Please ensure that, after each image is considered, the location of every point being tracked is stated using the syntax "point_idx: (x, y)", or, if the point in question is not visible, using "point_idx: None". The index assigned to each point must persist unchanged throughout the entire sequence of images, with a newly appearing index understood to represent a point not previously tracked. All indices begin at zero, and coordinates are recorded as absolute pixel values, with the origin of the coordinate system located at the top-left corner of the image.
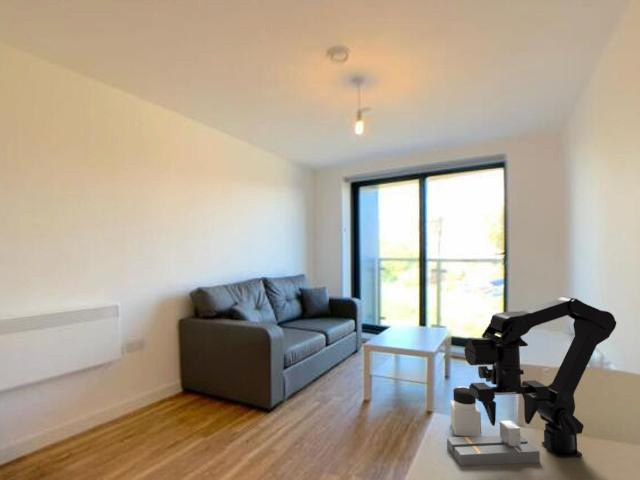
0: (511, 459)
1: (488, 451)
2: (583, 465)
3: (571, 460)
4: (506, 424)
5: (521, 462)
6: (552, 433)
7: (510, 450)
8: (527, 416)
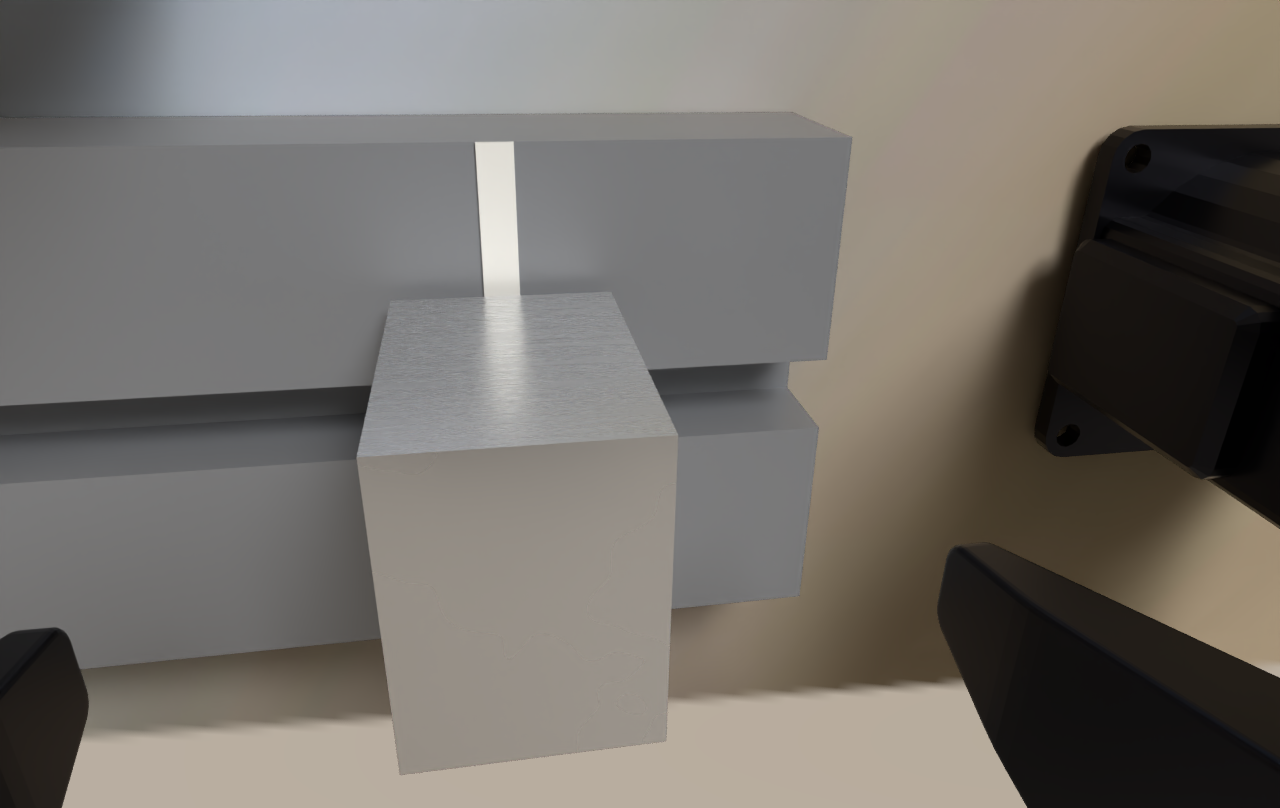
0: None
1: (23, 627)
2: (1140, 559)
3: (1113, 483)
4: (450, 619)
5: None
6: (1243, 484)
7: None
8: (1037, 738)
